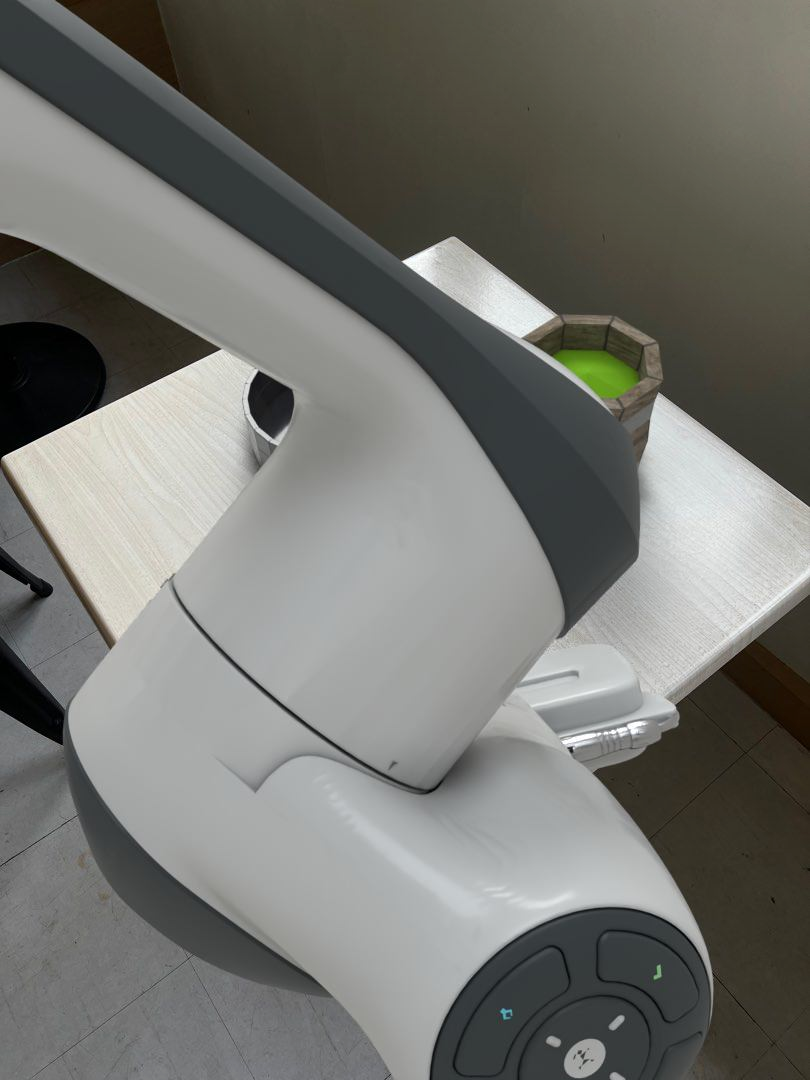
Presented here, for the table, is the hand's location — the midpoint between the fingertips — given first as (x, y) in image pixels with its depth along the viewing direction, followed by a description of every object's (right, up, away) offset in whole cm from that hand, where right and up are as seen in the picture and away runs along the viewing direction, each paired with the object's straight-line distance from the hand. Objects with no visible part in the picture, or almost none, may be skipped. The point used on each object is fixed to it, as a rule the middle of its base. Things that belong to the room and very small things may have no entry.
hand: (405, 689), depth 49 cm
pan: (-6, +17, +28) cm, 33 cm away
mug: (+12, +15, +25) cm, 31 cm away
